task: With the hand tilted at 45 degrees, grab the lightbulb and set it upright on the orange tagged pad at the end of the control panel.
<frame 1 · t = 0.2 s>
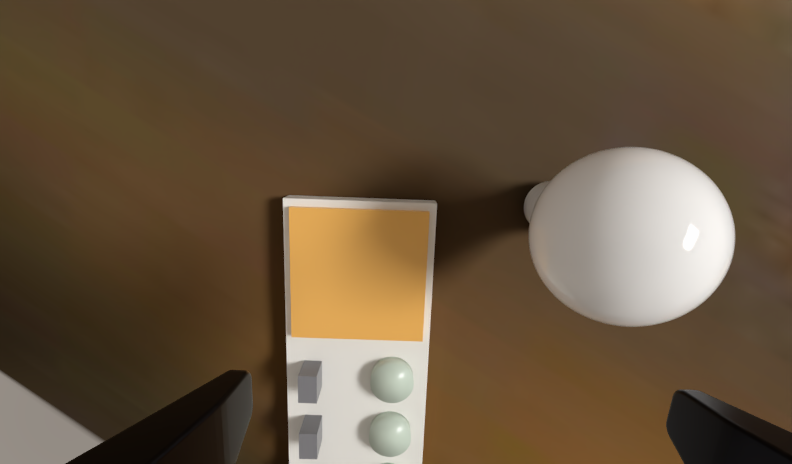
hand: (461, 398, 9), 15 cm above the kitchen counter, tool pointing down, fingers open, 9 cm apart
control panel: (358, 363, 24), on the kitchen counter
lightbulb: (542, 203, 23), on the kitchen counter
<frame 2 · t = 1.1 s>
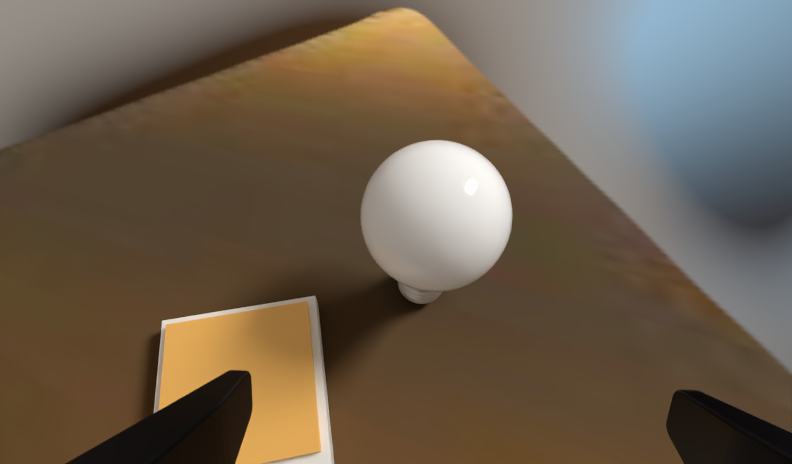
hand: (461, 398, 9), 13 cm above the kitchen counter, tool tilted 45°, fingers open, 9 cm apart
lightbulb: (419, 287, 24), on the kitchen counter
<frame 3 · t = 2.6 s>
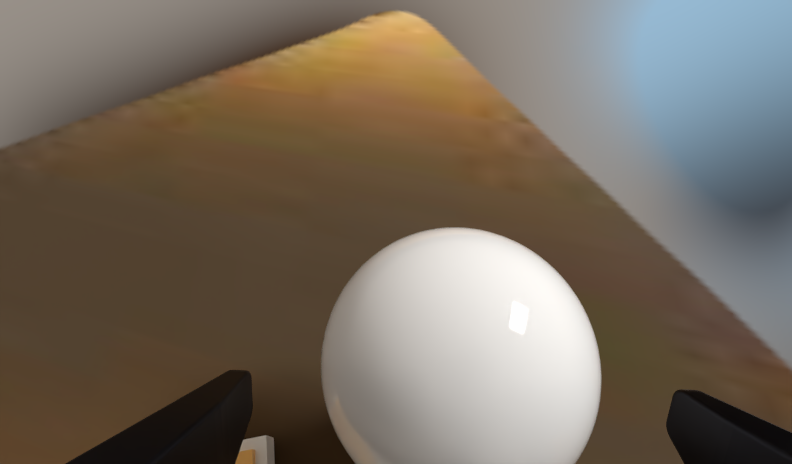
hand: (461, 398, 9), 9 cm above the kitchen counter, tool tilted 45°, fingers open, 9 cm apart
lightbulb: (423, 407, 17), on the kitchen counter
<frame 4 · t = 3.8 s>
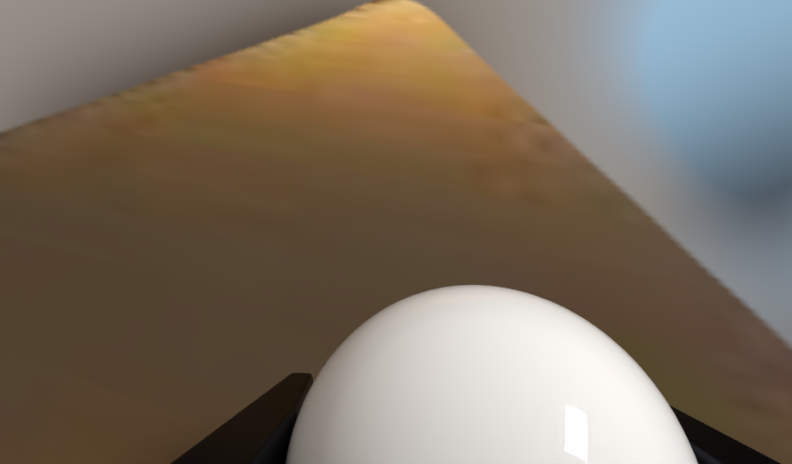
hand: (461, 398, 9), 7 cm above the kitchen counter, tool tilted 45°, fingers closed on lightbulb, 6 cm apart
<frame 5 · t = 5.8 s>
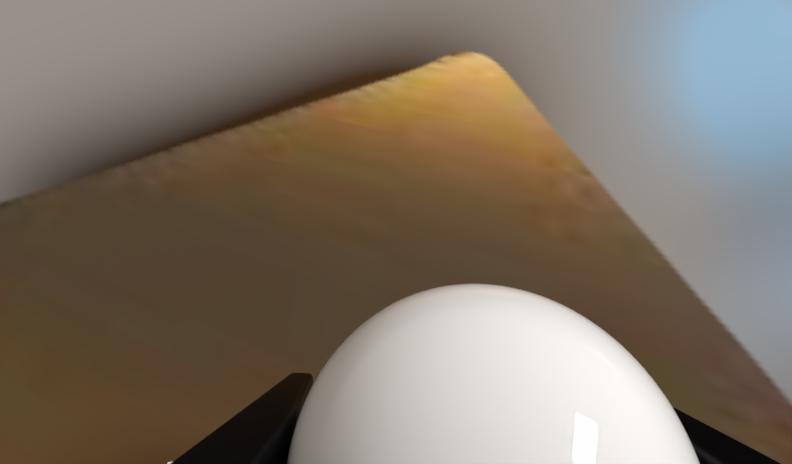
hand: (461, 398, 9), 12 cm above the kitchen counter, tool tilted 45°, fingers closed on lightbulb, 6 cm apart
when the fingers open (9 cm above the kitchen counter, at t = 7.6 s): lightbulb drops 1 cm, resting on control panel.
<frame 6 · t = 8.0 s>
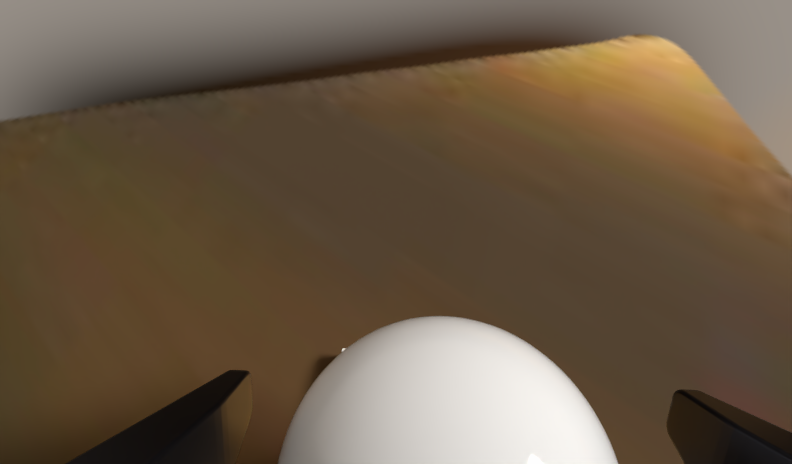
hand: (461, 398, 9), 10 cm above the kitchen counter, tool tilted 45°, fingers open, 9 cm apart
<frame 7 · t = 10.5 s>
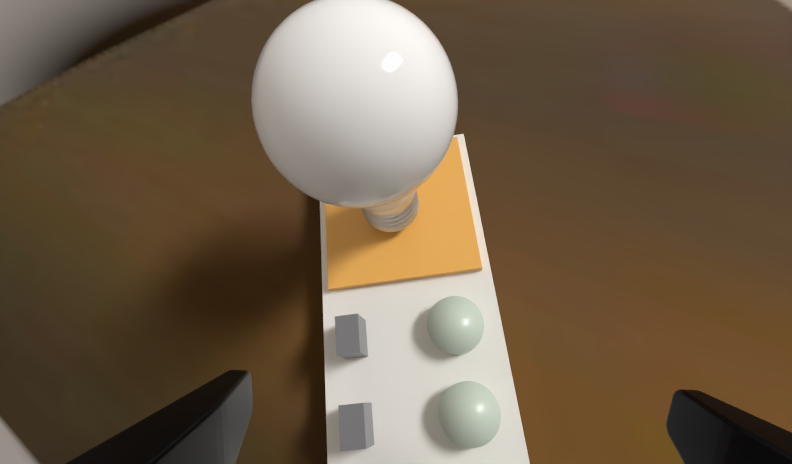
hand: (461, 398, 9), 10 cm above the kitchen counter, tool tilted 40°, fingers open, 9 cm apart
control panel: (413, 336, 19), on the kitchen counter
lightbulb: (394, 213, 20), point 1 cm above the kitchen counter, touching control panel
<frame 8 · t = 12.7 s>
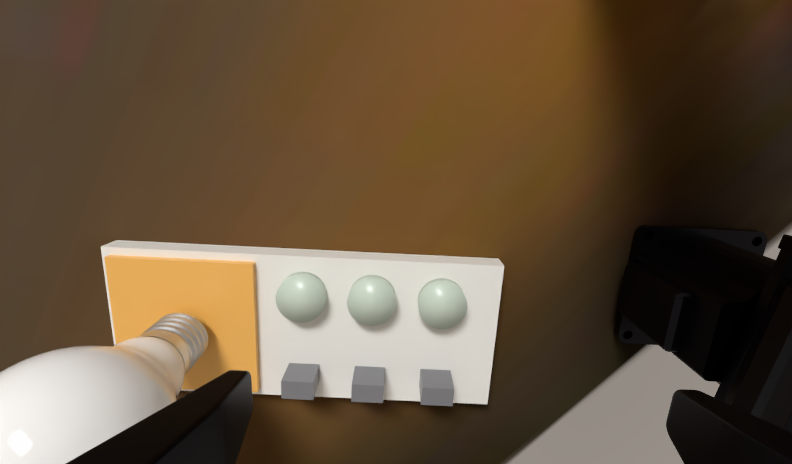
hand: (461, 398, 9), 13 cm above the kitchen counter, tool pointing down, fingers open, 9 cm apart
control panel: (308, 319, 22), on the kitchen counter
lightbulb: (189, 328, 21), point 1 cm above the kitchen counter, touching control panel
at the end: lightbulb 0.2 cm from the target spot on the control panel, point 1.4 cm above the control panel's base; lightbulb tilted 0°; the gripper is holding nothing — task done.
